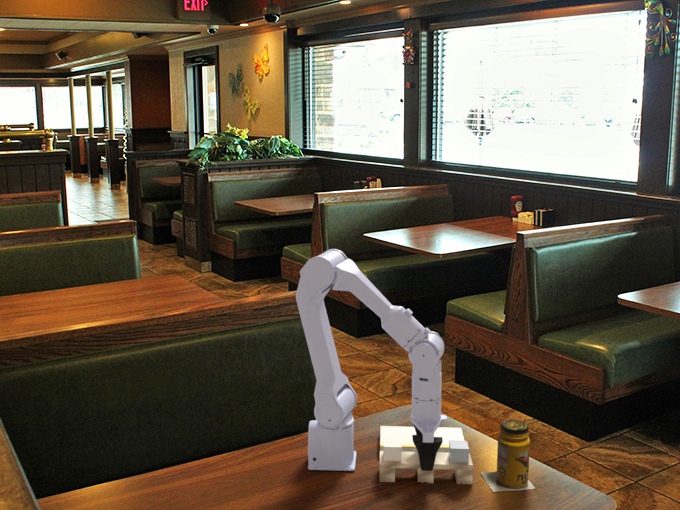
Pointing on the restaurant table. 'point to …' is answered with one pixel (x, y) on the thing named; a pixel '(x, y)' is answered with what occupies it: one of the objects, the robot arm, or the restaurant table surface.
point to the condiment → (511, 459)
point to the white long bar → (412, 461)
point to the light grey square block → (458, 451)
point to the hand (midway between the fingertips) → (425, 460)
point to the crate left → (392, 450)
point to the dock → (407, 433)
